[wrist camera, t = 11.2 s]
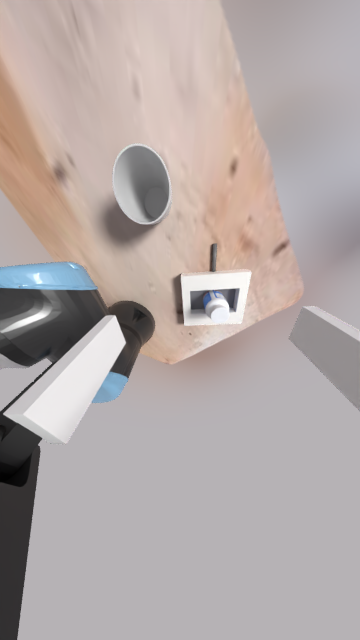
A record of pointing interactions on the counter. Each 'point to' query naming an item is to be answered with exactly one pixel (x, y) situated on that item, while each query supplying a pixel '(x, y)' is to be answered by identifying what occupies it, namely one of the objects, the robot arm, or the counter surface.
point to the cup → (142, 184)
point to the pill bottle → (216, 306)
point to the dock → (226, 282)
